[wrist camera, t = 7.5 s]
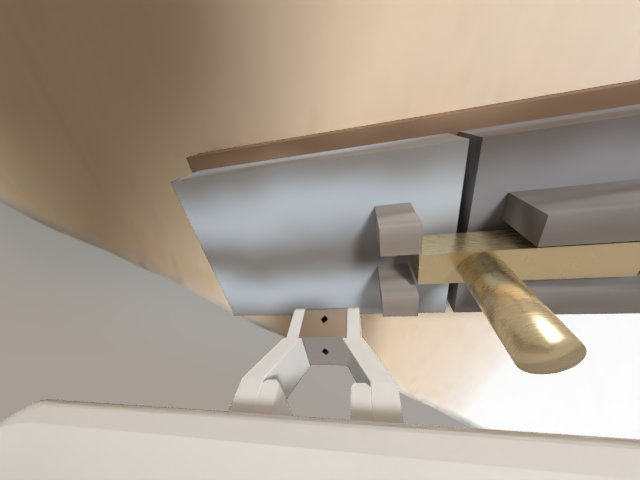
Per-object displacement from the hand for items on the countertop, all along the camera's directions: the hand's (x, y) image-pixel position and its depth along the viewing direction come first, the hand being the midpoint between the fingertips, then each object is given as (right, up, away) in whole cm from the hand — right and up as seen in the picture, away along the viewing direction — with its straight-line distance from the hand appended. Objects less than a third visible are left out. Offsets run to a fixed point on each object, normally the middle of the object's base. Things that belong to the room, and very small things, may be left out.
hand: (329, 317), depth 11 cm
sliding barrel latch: (+7, +6, +8) cm, 12 cm away
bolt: (+10, +3, +3) cm, 11 cm away
